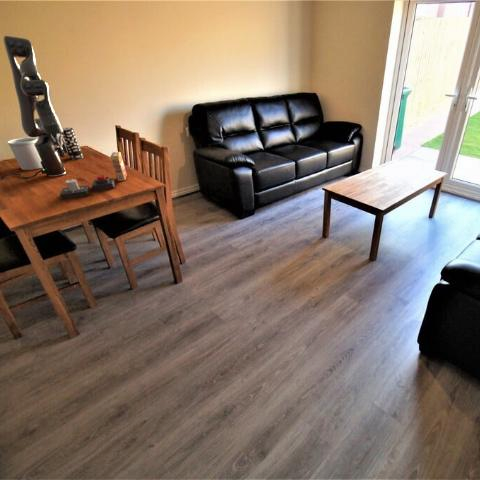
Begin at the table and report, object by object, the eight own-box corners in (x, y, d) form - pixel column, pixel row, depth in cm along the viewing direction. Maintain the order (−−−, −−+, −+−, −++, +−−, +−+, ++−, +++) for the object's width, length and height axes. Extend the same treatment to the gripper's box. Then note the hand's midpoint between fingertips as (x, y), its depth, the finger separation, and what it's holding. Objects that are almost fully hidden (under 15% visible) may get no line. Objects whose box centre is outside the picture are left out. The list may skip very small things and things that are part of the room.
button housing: (94, 191, 182) (90, 183, 180) (95, 185, 189) (92, 177, 187) (114, 188, 186) (111, 180, 183) (114, 183, 193) (112, 175, 190)
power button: (97, 181, 183) (96, 177, 182) (98, 178, 186) (97, 175, 185) (105, 180, 184) (104, 176, 183) (106, 177, 187) (105, 174, 186)
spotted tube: (73, 155, 235) (62, 127, 225) (85, 155, 236) (75, 127, 225) (67, 159, 228) (55, 130, 218) (79, 159, 229) (68, 130, 218)
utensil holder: (46, 161, 224) (34, 136, 215) (50, 166, 215) (38, 140, 206) (19, 166, 215) (5, 140, 206) (22, 172, 206) (8, 144, 197)
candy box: (125, 180, 196) (117, 155, 188) (118, 181, 195) (109, 156, 187) (127, 175, 204) (120, 151, 195) (120, 176, 202) (112, 152, 194)
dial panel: (61, 200, 172) (59, 194, 171) (65, 193, 180) (62, 187, 178) (88, 196, 177) (86, 190, 175) (90, 189, 184) (88, 184, 183)
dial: (78, 190, 176) (75, 181, 173) (68, 191, 174) (64, 182, 171) (80, 187, 179) (76, 178, 177) (69, 188, 178) (65, 179, 175)
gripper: (44, 121, 168) (58, 152, 177) (38, 127, 157) (53, 159, 166) (62, 120, 171) (74, 150, 180) (57, 125, 160) (70, 157, 169)
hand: (64, 154), depth 173 cm, fingers open, 8 cm apart
